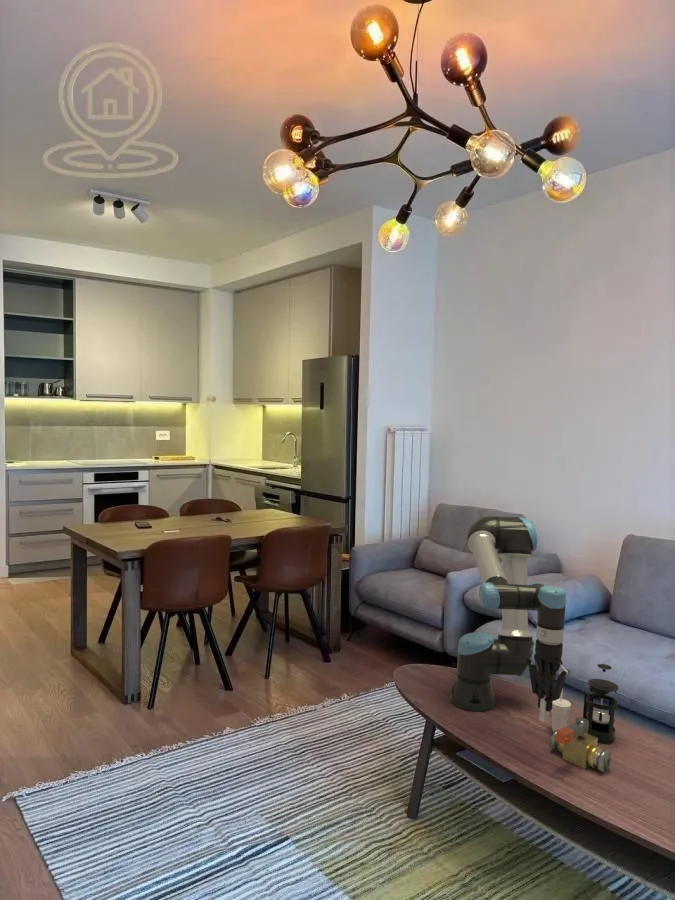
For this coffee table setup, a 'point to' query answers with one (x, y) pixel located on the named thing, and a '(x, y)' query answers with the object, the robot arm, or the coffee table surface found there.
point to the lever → (572, 731)
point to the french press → (599, 718)
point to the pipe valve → (583, 752)
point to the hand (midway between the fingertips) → (544, 720)
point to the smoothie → (560, 713)
